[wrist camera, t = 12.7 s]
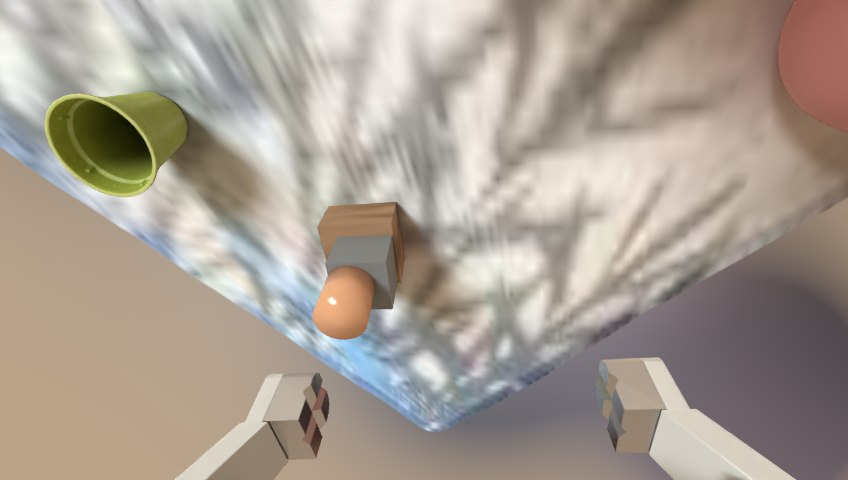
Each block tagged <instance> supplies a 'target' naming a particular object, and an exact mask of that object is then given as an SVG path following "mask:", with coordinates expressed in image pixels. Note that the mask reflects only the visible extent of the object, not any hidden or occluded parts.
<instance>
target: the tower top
mask: <svg viewBox="0 0 848 480" xmlns="http://www.w3.org/2000/svg"><path fill="white" fill-rule="evenodd" d="M325 265H326V269H327V273H328V275H329V273H330V272H331V271H332V270H334V269H335V268H337V267H340V266H347V265H348V266H355V267H359V268H361V269H363V270H365V271H366V272H368V273H369V274H370V275H371V277H372V278H373V280H374V282H375V287H376V288H375V294H374V298H373V302H372V306H371V309H393V303H394V298H395V292H396V286H397V280H398V279H397V271H396V264H395V256H394V249H393V241H392V235H382V236H352V237H337V238H336V240H335V243H334V245H333V247H332V250H331V252H330V254H329V256H328V259H327V261H326V263H325Z"/></svg>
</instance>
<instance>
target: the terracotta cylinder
mask: <svg viewBox="0 0 848 480" xmlns="http://www.w3.org/2000/svg"><path fill="white" fill-rule="evenodd" d="M375 288H376V287H375V282H374V280H373V278H372V277H371V275H370V274H369V273H368V272H366V271H365V270H363V269H361V268H359V267H355V266H348V265H347V266H340V267H337V268H335V269H334V270H332V271H331V272H330V273H329V275H328V277H327V279H326V282H325V284H324V287H323V289H322V291H321V294H320V296H319V299H318V301H317V304H316V306H315V309H314V311H313V321H314V323H315V325H316V327H317V328H318V329H319V330H320V331H321V332H322V333H324V334H326V335H327V336H330V337H332V338H336V339H344V340H345V339H352V338H356V337H358V336H360V335H361V334H362V333H363V332H364V331H365V329H366V327H367V323H368V319H369V315H370V311H371V306H372V302H373V298H374V294H375Z"/></svg>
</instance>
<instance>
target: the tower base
mask: <svg viewBox="0 0 848 480" xmlns="http://www.w3.org/2000/svg"><path fill="white" fill-rule="evenodd" d="M318 231H319V234H320V238H321V242H322V245H323V249H324V253H325V257H326V260H327V259H328V256H329V254H330V252H331V250H332V247H333V245H334V243H335V240H336V238H337V237H352V236H382V235H392V241H393V249H394V256H395V264H396V271H397V279H398V280H397V283H401V278H402V272H403V266H404V260H405V258H404V251H403V244H402V238H401V231H400V224H399V217H398V211H397V204H396V202H388V203H373V204H357V205H341V206H329V207H328V208H327V210H326V212H325V214H324V216H323V218H322V220H321V222H320V223H319V225H318Z"/></svg>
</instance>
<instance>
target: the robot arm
mask: <svg viewBox="0 0 848 480" xmlns="http://www.w3.org/2000/svg"><path fill="white" fill-rule="evenodd" d="M599 371H600V374H601V377H600V378H599V379H598V380H597V386H596V389H597V399H598V403H599V407H600V410H601V413H602V415H603V416H605V417H606V418H607V419H608V420H609V422H608V428H607V430H608V433H609V435H610V438H611V441H612V444H613V447H614V449H615V452H629V453H631V452H632V453H633V452H634V453H638V452H639V453H649V455H650V456H651V457H652V458H653V459H654V460H655V461H656V462H657V463H658V464H659V465H660V466H661V467H662V468H663V469H664V470H665V471H666V472H667V473H668V474H669V475H670V476H671V477H672V478H673V479H674V480H796V479H794V478H793V477H791V476H790V475H789V474H787V473H786V472H784V471H783V470H781V469H780V468H779V467H777V466H776V465H774V464H773V463H772V462H770V461H769V460H767V459H766V458H765V457H763V456H762V455H760V454H759V453H758V452H756V451H755V450H753V449H752V448H750V447H749V446H748V445H746V444H745V443H743V442H742V441H741V440H739V439H738V438H736V437H735V436H734V435H732V434H731V433H729V432H728V431H727V430H725V429H724V428H722V427H721V426H720V425H718V424H717V423H715V422H714V421H712V420H711V419H710V418H708V417H706V416H705V415H704V414H702V413H701V412H700V411H698V410H697V409H690V408H689V406H688V404H687V403H686V401H685V399H684V397H683V395H682V394H681V392H680V390H679V389H678V387H677V385H676V383H675V381H674V380H673V378H672V376H671V374H670V373H669V371H668V369H667V367H666V366H665V364H664V362H663V360H661V359H660V358H659V357H655V358H639V359H638V358H628V359H611V360H601V362H600V364H599ZM321 384H322V378H321V376H320V374H319V373H295V374H294V373H288V374H269V375H268V376H267V377H266V379H265V380H264V382H263V385H262V387H261V389H260V391H259V393H258V396H257V397H256V400H255V402H254V404H253V406H252V408H251V411H250V413H249V415H248V417H247V419H246V421H245V423H239V424H238V425H237V426H236V427H235V428H234V429H232V430H231V431H230V432H229V433H228V434H227V435H226V436H224V437H223V438H222V439H221V440H220V441H219V442H217V443H216V444H215V445H214V446H213V447H212V448H211V449H210V450H208V451H207V452H206V453H205V454H204V455H203V456H201V457H200V458H199V459H198V460H197V461H196V462H194V463H193V464H192V465H191V466H190V467H189V468H188V469H186V470H185V471H184V472H183V473H182V474H181V475H179V476H178V477H177V478H176V479H175V480H273V479H274V478H275V477H276V476H277V475H278V473H279V472H280V471H281V470H282V469H283V467H284V466H285V465H286V464H287V463H288V460H292V459H314V458H316V457H317V454H318V450H319V447H320V443H321V440H322V435H321V432H320V430H319V429H320V428H321V427H322V426H323V425H324V424H325V423H326V422H327V418H328V414H329V398H328V394H327V391H326V390H325V389H324V388H322V387H321Z"/></svg>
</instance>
